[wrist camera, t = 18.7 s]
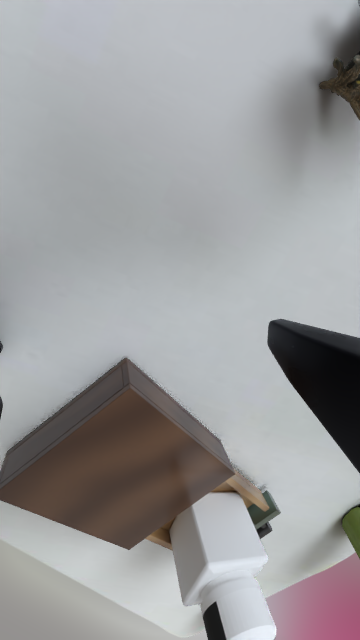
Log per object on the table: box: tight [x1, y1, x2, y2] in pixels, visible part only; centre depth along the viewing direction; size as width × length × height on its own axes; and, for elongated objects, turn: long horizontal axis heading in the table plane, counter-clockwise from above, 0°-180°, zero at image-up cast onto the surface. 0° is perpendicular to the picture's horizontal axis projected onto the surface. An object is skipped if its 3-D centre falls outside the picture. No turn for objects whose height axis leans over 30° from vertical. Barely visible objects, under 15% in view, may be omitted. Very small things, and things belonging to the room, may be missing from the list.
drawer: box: [145, 468, 281, 551], centre depth 34 cm, size 20×13×3 cm, turn 36°
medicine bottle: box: [169, 492, 276, 640], centre depth 28 cm, size 7×7×12 cm
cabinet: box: [0, 358, 235, 550], centre depth 27 cm, size 16×14×4 cm
